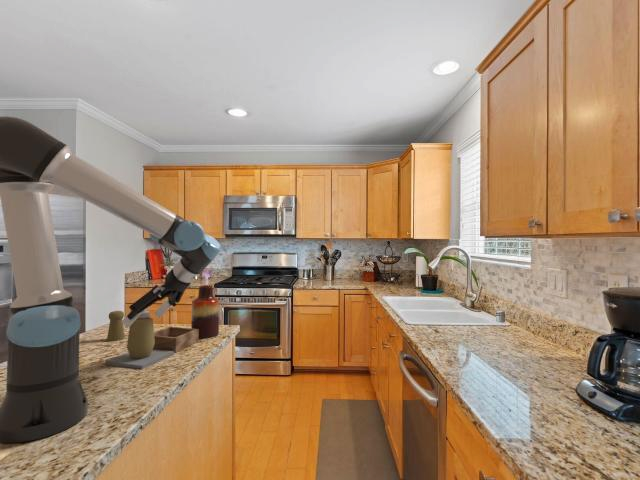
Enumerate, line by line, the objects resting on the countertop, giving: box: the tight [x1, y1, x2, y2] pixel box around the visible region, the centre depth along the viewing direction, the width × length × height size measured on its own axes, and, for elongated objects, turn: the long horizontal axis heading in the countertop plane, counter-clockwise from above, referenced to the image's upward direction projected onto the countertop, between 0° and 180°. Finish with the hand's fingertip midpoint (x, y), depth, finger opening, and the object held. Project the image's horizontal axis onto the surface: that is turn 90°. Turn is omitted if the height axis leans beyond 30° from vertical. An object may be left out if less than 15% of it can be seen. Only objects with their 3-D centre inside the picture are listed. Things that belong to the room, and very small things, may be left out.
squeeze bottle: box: [126, 308, 155, 358], centre depth 107 cm, size 8×8×18 cm
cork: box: [106, 310, 126, 342], centre depth 130 cm, size 6×6×11 cm
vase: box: [190, 285, 220, 340], centre depth 137 cm, size 11×11×20 cm
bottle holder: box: [153, 326, 200, 354], centre depth 122 cm, size 13×13×5 cm
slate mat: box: [104, 349, 175, 370], centre depth 107 cm, size 14×14×1 cm
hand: (141, 319), depth 108 cm, fingers open, 13 cm apart
